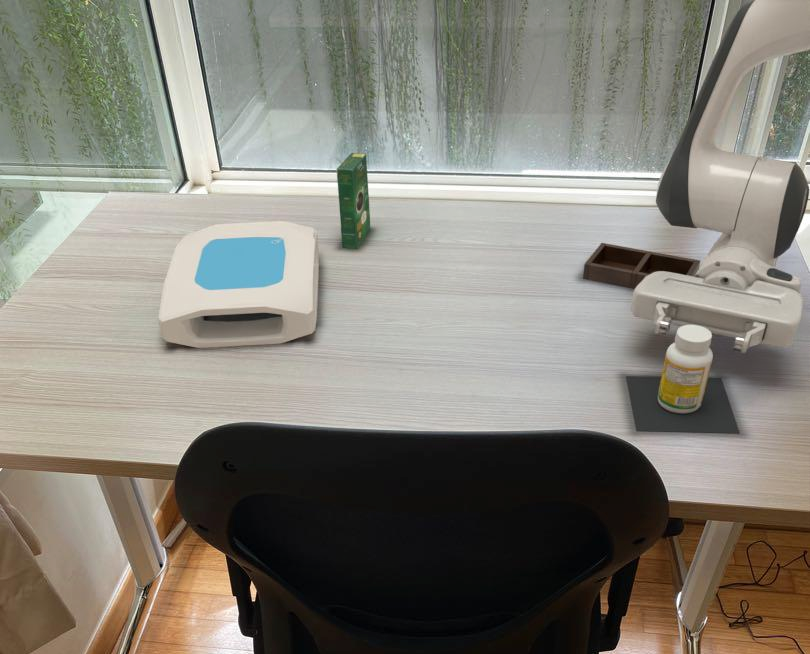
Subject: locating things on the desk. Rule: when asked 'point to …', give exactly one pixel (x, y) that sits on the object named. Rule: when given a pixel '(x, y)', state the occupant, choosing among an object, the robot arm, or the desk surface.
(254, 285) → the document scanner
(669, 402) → the supplement bottle
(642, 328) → the desk surface
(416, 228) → the desk surface
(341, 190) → the coffee box
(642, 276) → the jar stand
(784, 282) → the robot arm
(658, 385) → the mat
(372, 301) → the desk surface
